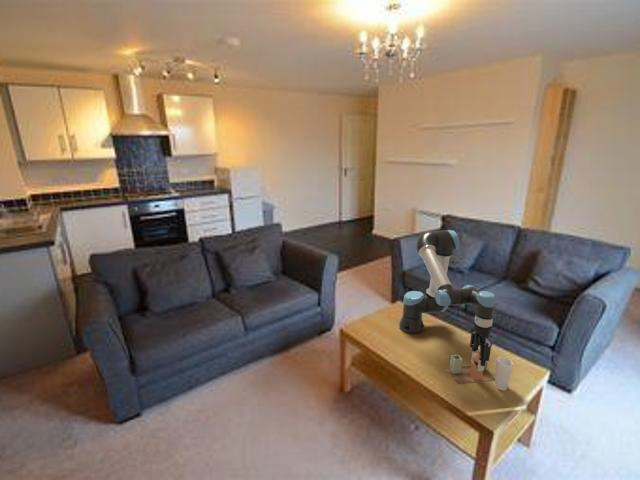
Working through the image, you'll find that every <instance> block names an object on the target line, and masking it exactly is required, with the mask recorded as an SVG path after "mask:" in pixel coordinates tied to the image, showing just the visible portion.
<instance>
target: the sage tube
mask: <svg viewBox="0 0 640 480" xmlns="http://www.w3.org/2000/svg"><path fill="white" fill-rule="evenodd" d="M463 360H464V359H463V358H462V357H461V355H459V354H451V355H450V361H449V367H450V370H451V371H452V373H453V374H457V373H461V368H462V366H463Z"/></svg>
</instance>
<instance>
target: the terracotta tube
mask: <svg viewBox="0 0 640 480" xmlns="http://www.w3.org/2000/svg"><path fill="white" fill-rule="evenodd" d="M470 365H471V369H470V376H471V377H472V379H473V380H474V381H475V380H482V375H483V371H478V362H476V361H471V360H470Z"/></svg>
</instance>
